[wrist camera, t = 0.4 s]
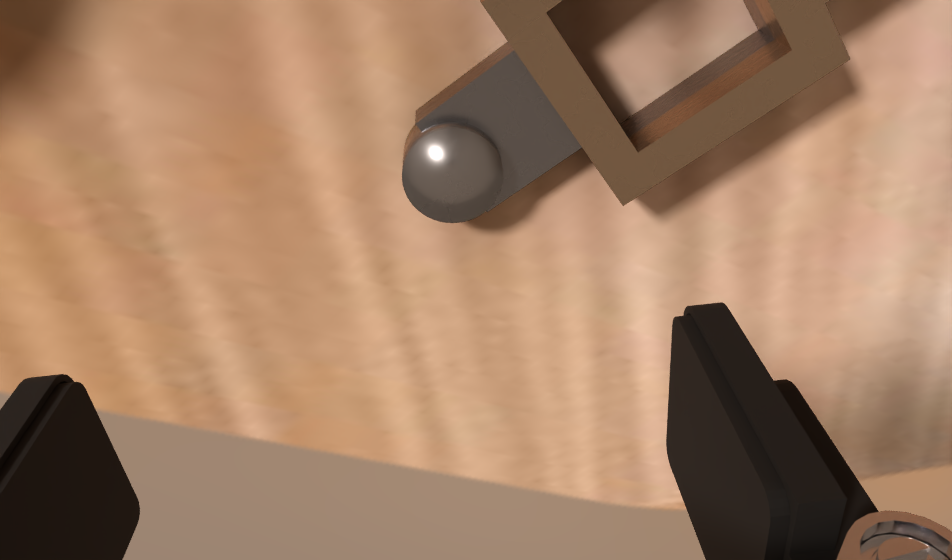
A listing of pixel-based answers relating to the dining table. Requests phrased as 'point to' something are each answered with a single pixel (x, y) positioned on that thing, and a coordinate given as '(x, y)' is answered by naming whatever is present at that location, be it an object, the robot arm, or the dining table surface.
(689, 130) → the upper end link
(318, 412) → the dining table surface
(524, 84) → the lower end link
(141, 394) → the dining table surface
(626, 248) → the dining table surface
